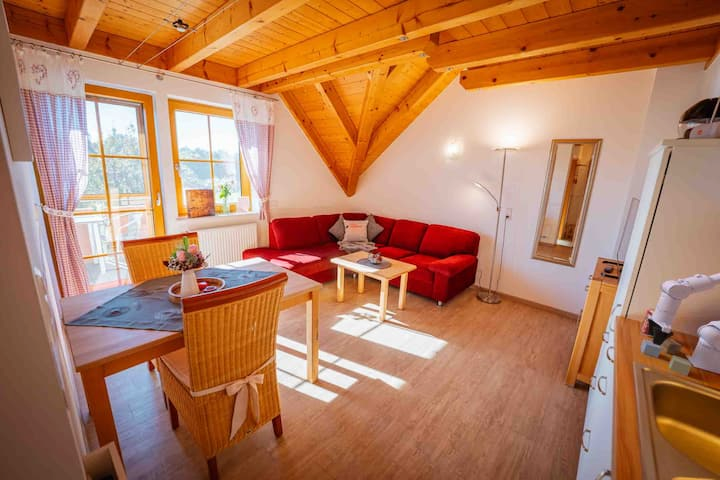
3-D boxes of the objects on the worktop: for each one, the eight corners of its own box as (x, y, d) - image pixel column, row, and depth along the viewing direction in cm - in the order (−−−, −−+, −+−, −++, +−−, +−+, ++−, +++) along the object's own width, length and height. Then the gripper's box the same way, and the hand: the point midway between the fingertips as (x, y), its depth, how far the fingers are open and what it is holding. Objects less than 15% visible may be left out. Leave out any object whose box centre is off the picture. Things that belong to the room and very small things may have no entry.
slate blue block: (640, 348, 123) (643, 339, 121) (654, 352, 120) (658, 343, 119) (642, 353, 119) (646, 344, 118) (657, 358, 117) (661, 348, 115)
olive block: (685, 370, 110) (689, 360, 109) (686, 376, 107) (691, 366, 106) (668, 364, 113) (672, 354, 112) (669, 370, 110) (674, 360, 109)
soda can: (636, 330, 136) (645, 307, 133) (647, 331, 136) (656, 308, 133) (646, 337, 131) (656, 313, 128) (658, 337, 131) (667, 314, 128)
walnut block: (668, 348, 124) (672, 339, 123) (677, 354, 120) (682, 345, 119) (656, 346, 125) (660, 337, 123) (665, 353, 120) (669, 344, 119)
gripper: (647, 300, 122) (637, 328, 126) (657, 314, 110) (645, 344, 114) (671, 305, 118) (659, 334, 122) (683, 320, 107) (669, 351, 110)
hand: (653, 339), depth 118 cm, fingers open, 7 cm apart
